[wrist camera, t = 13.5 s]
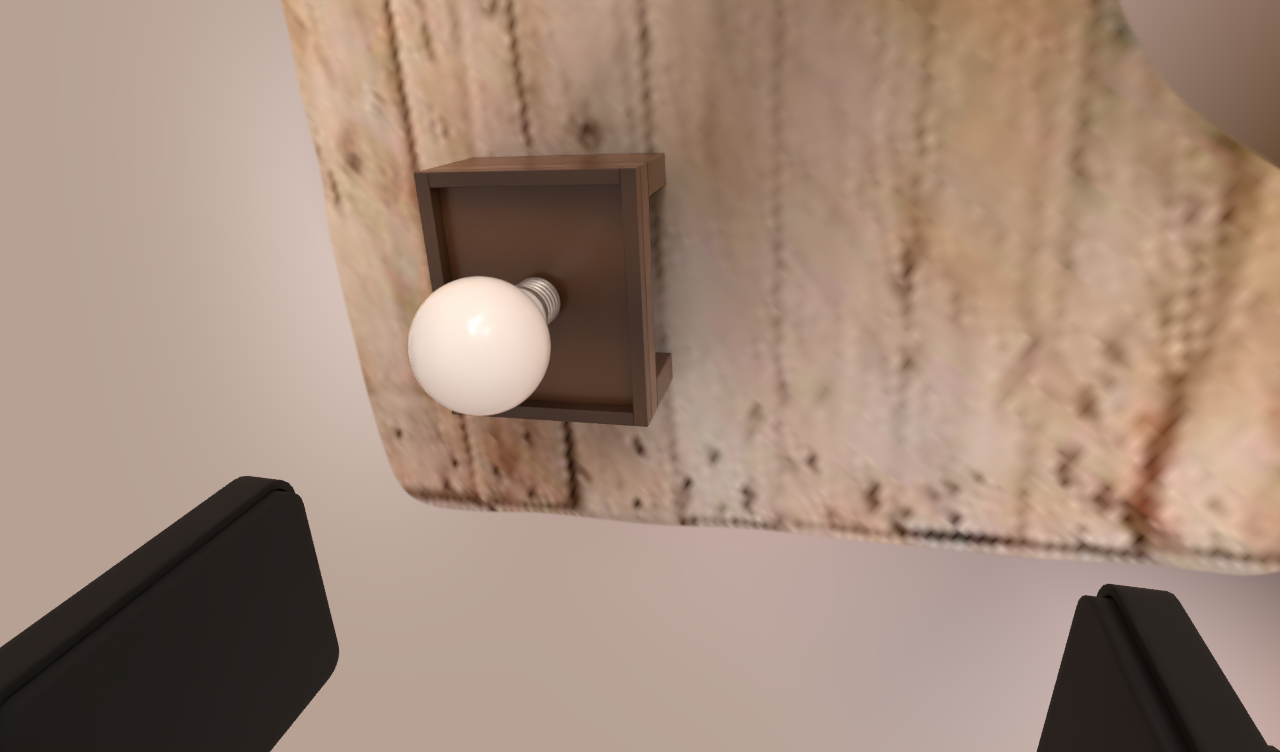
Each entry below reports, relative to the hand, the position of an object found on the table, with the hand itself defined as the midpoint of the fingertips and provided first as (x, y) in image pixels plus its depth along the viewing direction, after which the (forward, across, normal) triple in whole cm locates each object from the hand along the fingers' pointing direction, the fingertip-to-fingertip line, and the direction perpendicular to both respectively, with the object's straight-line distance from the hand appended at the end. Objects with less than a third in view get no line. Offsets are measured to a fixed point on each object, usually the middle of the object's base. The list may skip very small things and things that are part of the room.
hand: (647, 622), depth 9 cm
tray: (+36, +13, +6) cm, 39 cm away
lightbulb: (+30, +13, +6) cm, 33 cm away
